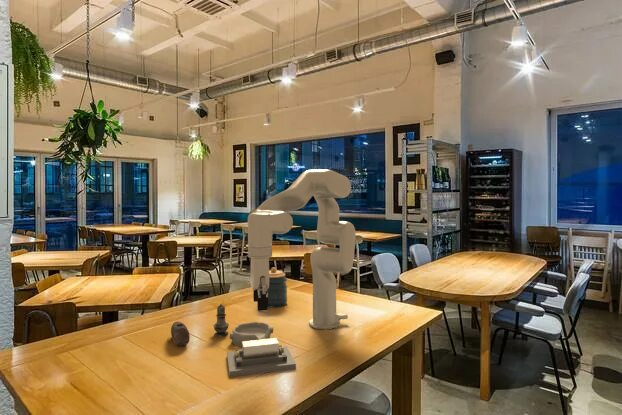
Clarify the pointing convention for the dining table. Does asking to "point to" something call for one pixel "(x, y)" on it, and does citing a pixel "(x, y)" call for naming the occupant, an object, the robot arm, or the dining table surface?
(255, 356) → the aluminium bar
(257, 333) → the dish
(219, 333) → the dark grey chess piece
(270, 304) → the canister
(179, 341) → the perforated stone tool
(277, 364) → the switch frame
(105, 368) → the dining table surface
